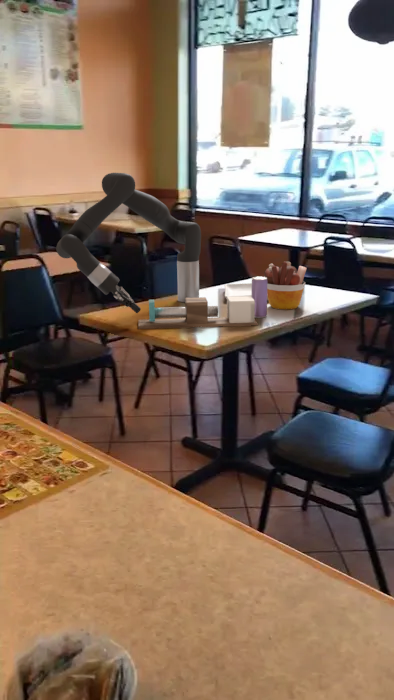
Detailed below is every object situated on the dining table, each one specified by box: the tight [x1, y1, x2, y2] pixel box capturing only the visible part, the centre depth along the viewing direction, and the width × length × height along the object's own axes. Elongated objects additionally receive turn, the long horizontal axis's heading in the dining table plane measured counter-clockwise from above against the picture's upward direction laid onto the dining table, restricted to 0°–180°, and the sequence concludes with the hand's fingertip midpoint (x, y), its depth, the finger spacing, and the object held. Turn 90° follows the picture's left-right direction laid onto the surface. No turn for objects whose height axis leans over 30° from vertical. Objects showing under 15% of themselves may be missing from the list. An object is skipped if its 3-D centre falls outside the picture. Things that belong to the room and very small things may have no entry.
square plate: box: [224, 282, 269, 303], centre depth 281 cm, size 27×27×4 cm
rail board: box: [138, 296, 258, 330], centre depth 233 cm, size 10×43×9 cm, turn 94°
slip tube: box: [148, 299, 219, 321], centre depth 232 cm, size 25×5×7 cm, turn 94°
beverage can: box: [251, 276, 268, 319], centre depth 242 cm, size 6×6×15 cm
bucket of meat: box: [264, 261, 307, 311], centre depth 257 cm, size 20×16×20 cm
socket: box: [226, 296, 255, 323], centre depth 234 cm, size 9×9×8 cm
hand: (139, 311), depth 231 cm, fingers closed
